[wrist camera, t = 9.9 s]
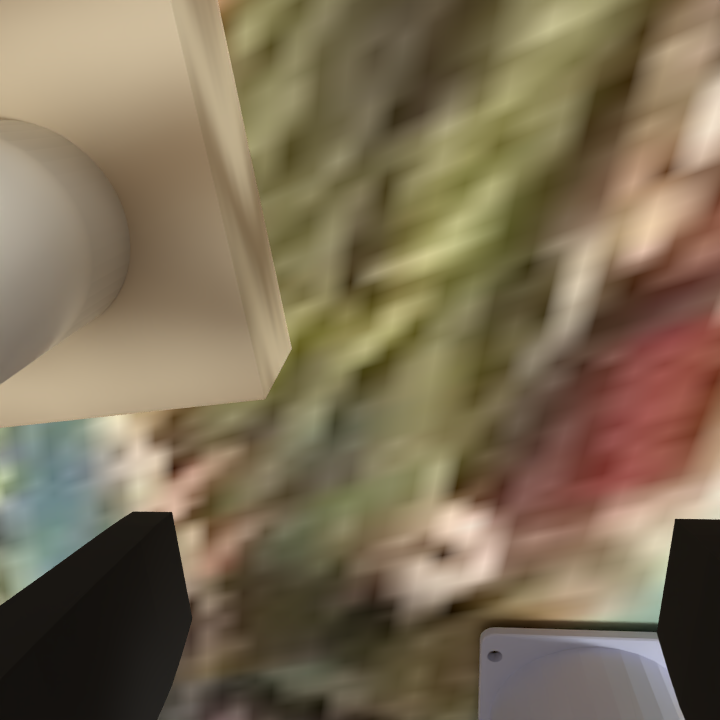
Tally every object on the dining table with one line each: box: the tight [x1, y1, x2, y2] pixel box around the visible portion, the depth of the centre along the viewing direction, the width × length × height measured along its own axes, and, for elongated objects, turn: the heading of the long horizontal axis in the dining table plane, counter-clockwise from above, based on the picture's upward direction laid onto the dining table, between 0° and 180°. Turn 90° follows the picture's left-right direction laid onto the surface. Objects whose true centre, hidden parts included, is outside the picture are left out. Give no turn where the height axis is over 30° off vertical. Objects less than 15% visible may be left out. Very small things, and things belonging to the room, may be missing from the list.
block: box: [0, 0, 292, 428], centre depth 17 cm, size 10×10×4 cm
